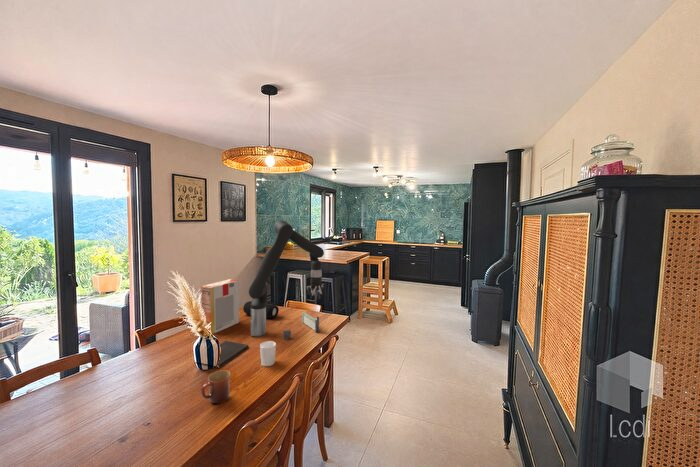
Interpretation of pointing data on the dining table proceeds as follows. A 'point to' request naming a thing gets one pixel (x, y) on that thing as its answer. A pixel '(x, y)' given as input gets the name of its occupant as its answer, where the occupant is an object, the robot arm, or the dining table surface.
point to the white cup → (267, 353)
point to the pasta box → (221, 304)
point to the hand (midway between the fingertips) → (316, 299)
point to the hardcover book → (230, 351)
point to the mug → (217, 386)
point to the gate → (308, 320)
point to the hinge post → (317, 325)
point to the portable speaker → (270, 309)
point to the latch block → (287, 334)
